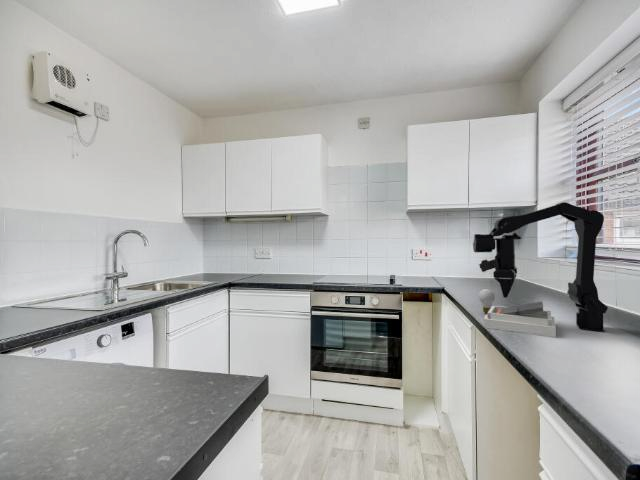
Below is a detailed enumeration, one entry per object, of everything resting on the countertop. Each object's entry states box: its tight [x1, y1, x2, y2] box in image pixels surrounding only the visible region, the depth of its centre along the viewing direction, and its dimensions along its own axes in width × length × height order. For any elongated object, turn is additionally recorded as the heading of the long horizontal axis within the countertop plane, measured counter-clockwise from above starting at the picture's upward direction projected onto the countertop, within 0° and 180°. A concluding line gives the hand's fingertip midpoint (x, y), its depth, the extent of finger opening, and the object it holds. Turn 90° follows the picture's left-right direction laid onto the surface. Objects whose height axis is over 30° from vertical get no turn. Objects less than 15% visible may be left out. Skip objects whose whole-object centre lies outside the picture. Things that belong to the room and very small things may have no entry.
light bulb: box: [478, 288, 496, 315], centre depth 130 cm, size 6×6×10 cm
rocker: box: [496, 300, 544, 315], centre depth 111 cm, size 14×12×1 cm
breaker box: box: [483, 305, 557, 338], centre depth 111 cm, size 20×16×5 cm
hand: (506, 295), depth 115 cm, fingers open, 9 cm apart
